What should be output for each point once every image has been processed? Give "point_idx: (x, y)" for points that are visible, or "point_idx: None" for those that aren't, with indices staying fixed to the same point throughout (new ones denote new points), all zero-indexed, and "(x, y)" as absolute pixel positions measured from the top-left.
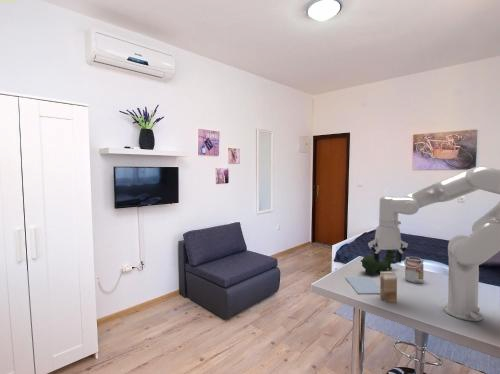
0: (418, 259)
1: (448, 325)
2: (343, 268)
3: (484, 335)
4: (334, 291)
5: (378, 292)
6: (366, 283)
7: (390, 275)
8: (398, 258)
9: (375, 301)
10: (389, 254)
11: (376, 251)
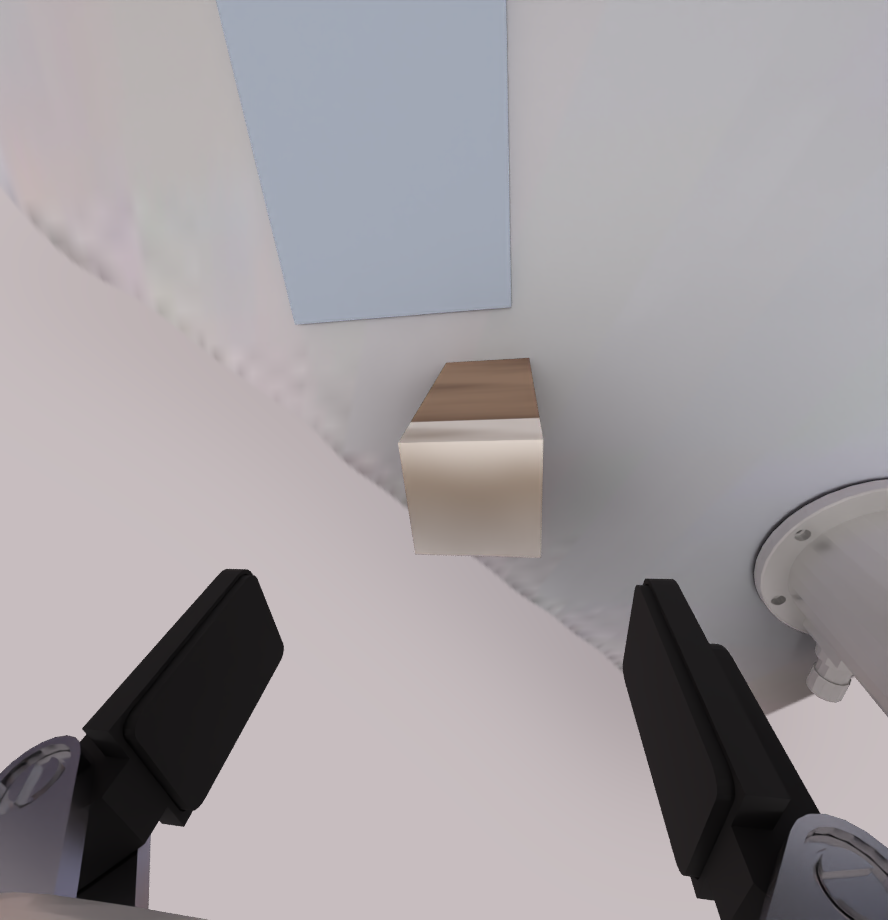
0: None
1: None
2: None
3: None
4: (137, 281)
5: (451, 302)
6: (398, 53)
7: (471, 550)
8: (644, 720)
9: (394, 427)
10: None
11: (96, 871)
